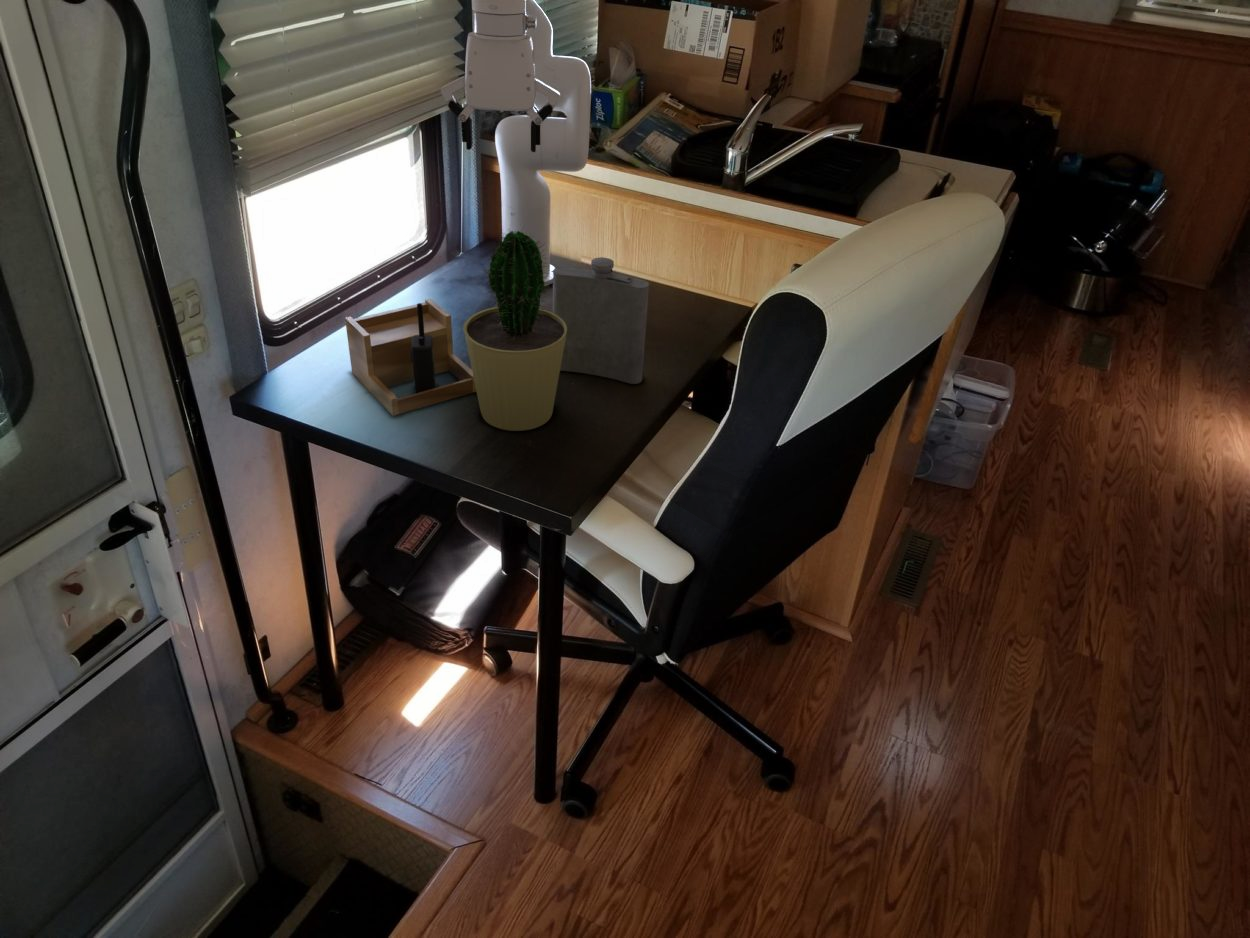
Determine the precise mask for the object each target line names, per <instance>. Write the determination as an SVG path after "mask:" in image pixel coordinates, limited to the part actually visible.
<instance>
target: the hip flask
mask: <svg viewBox="0 0 1250 938" xmlns="http://www.w3.org/2000/svg"><path fill="white" fill-rule="evenodd" d="M614 262H615V261H614V260H613V259H611V258H608V257H602V256H601V257H594V258H592V259H591V262H590V267H591V268H592V269H588V268H579V267H567V266H560V267H559V266H558V267H555V269H554V270H553V283H552V313H554V314H555V315H557V316H559V317H560V318H561V319H562V320H563V321H564V322H565V324H566V326H567V333H566V340H565V346H564V351H563V356H562V362H561V367H560V372H570V373H571V372H573V373H580V374H586V375H593V376H597V377H598V376H599V377H603V378H608V379H612V380H615V381H620V382H624V383H627V384H631V385H635V384H636V385H637V384H640V383H642V381H643V374H644V373H643V371H644V361H645V360H644V359H645V345H646V334H647V333H646V330H647V319H648V306H649V305H648V304H649V294H650V293H649V292H650V282H648V281H647V280H645V279H642V278H637V277H633V276H630V275H626V274H622V273H618V272H614V271H613V269H614V267H615V266H614V265H615V263H614Z"/></svg>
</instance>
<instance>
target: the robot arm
mask: <svg viewBox="0 0 1250 938" xmlns="http://www.w3.org/2000/svg"><path fill="white" fill-rule="evenodd" d="M471 19H472V31H471V32H468V34H467V39H466V47H465V62H464V63H465V68H464V70H465V71H464V75H463V76H461V77H458V78H456V79H455V80H453V81H450V82H449V83H446V84H445V85H443V86H442V87H441V88H440V94H441V95H442V97H443V99H444V101H445V103H446V105H447V107H448V109H449V110H450V112H452V113H453V114H454V115H455V116H456V117H457V118H458V120H459V121H460V124H461V127H460V130H461V142H462V143H465V144H466V145H465V146H466V150H468V151H469V150H472V148H473V143H474V141H473V119H472V117H471V115H472V114H473V113H474V112H475V110H482V111H506V112H525V113H526V115H523V114H517V115H510V116H506V117H504V118H503V119H501V120H500V121H499V122H498V124H497V125H496V128H495V133H494V142H495V150H496V155H497V161H498V167H499V177H500V195H501V197H500V198H501V200H500V201H501V238H502V237H505V235H506V234H508V233H510V232H512V231H513V232H514V234H515V232H516V233H517V231H519V232H520V233H521V230H522V229H523V230H522V232H523V234H524V235H527V236H529V237H530V238H531V236H532V238H531V239H532V240H534V242H538V241H539V242H538V244H539V245H538V244H536V245H537V247H538V249H539V250H540V251H539V252H540V253H541V255H542V256H544V257H542V256H541V260H542V266H547V267H542V270H543V275H544V276H543V280H544V283H545V282H546V283H552V284H553V270H554V269H555V268H556V267H555V266H554V265H552V264H551V191H550V187H549V185H548V183H547V181H546V180H545V178H544V177H543V176H542V174H541V173H540V172H539V171H541V172H542V171H545V172H546V171H548V172H562V173H563V172H567V173H575V172H580V171H582V170H583V169H584V168H585V167H586V165H587V162H588V158H589V150H590V129H591V105H592V103H591V101H592V78H591V72H590V69H589V66H588V63H586V61H584V60H583V59H581V58H579V57H575V56H567V55H566V56H565V55H554V54H553V38H554V37H553V36H554V30H553V28H554V27H553V26H552V23H551V21H550V20H549V18H548V16H547V15H546V13H545V12H544V10H543V9H542V7H540V5H539V4H538V3H537V2H536V1H535V0H471ZM463 88H464V92H465V94H464V95H465V102H466V103H465V105H464V106H462V105H461V104H460V103H459V102H458V101H457V100H456V98H455V95H454V93H456V92H458V91H459V90H462V89H463ZM553 112H561V113H563V114H564V116H566V117H551V116H550V115H551V114H552V113H553ZM523 227H524V228H523ZM507 229H508V230H507ZM509 229H510V230H509ZM503 230H504V231H503ZM508 231H509V232H508ZM502 232H503V233H502ZM504 233H505V234H504ZM525 233H526V234H525ZM527 233H528V234H527ZM530 233H531V234H530ZM502 234H503V236H502ZM503 239H504V238H503ZM501 240H502V239H501ZM501 242H503V240H502V241H501ZM541 242H542V243H541ZM543 245H544V246H543ZM541 246H542V247H541ZM539 247H540V248H539ZM545 249H546V250H545ZM542 251H543V252H542ZM543 258H547V259H543ZM544 262H546V263H544ZM544 272H545V273H544ZM546 278H547V279H546ZM549 285H550V284H544V287H545V286H549Z"/></svg>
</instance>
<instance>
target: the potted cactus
mask: <svg viewBox="0 0 1250 938" xmlns="http://www.w3.org/2000/svg"><path fill="white" fill-rule="evenodd" d="M523 228H524V227H523ZM507 230H508V229H507ZM509 230H510V229H509ZM522 230H523V229H522ZM522 230H521V233H520V232H519V231H517V233H516V232H515V234H514V232H513V231H512V232H510V233H508V234H506V235H505V237H502V236H503V234H502V233H503V232H502V231H501V235H500V234H498V235H497V236H496V238H497V239H498V240H496V241H498V242H497V243H496V245H497V247H496V248H495V249H494V251H491V253H492V254H491V257H490V258H489V256H486V259H487V260H488V261H489V268H486V269H484V271H483V273H482V275H484V279H485V280H486V279H487V280H488V283H487V284H486V285H485V287H486V288H488V290H489V292H487V293H486V294H487V295H488V294H489V293H491V294H490V297H493V300H494V299H495V300H494V302H493V304H491V306H492V307H490V308H489V307H488V308H485V309H483V310H480V311H478V312H475V313H474V314H472V315H470V316H469V317H468V318H467V319H466V320H465V321H464V323H463V326H462V330H463V334H464V336H465V343H466V347H467V352H468V357H469V361H470V368H471V370H472V372H473V377H474V382H475V386H476V391H477V392H476V395H477V396H476V397H477V401H478V406H479V410H480V414H481V416H482V418H483V420H484V421H485V422H486V423H487V424H488V425H490V426H492V427H494V428H497V429H500V430H504V431H513V432H520V431H521V432H522V431H528V430H529V431H530V430H533V429H537V428H539V427H541V426H543V425H544V424H546V423H548V421H550V420H551V418H552V416H553V413H554V406H555V401H556V400H555V399H556V395H557V390H558V385H559V379H560V378H559V377H560V374H561V373H560V372H561V371H560V367H561V362H562V356H563V351H564V346H565V340H566V333H567V326H566V324H565V322H564V321H563V320H562V319H561V318H560V317H559V316H557V315H555V314H554V313H553V311H552V312H551V311H549V310H547V309H544V308H545V306H544V305H542V307H543V308H541V303H542V302H545V300H543V299H542V295H546V294H547V293H545V292H547V291H549V290H551V287H550V286H549V285H553V283H546V282H545V283H544V280H543V276H544V275H543V270H542V267H547V266H542V260H541V256H542V255H541V253H540V252H539V251H540V250H539V249H538V247H537V245H536V244H538V242H539V241H538V242H534V240H532V239H531V238H532V236H531V238H530V237H529V236H527V235H524V234H523V232H522ZM503 231H504V230H503ZM508 232H509V231H508ZM504 234H505V233H504ZM525 234H526V233H525ZM527 234H528V233H527ZM530 234H531V233H530ZM503 238H504V239H503ZM502 240H503V242H502ZM541 243H542V242H541ZM538 245H539V244H538ZM543 246H544V245H543ZM541 247H542V246H541ZM539 248H540V247H539ZM545 250H546V249H545ZM542 252H543V251H542ZM542 257H544V256H542ZM543 259H547V258H543ZM544 263H546V262H544ZM484 273H485V274H486V275H485V274H484ZM544 273H545V272H544ZM546 279H547V278H546ZM544 284H549V285H547V286H544ZM485 287H484V288H485Z"/></svg>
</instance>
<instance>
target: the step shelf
mask: <svg viewBox="0 0 1250 938" xmlns="http://www.w3.org/2000/svg"><path fill="white" fill-rule="evenodd" d="M420 303H421V304H422V310H423V323H424V335H430V336H432V339H433V354H434V368H435V375H437V374H441V373H446V372H448V371H449V372H450V373H451V374H452V375H453V376H455V378H457V379H458V380H459V381H455V382H451V383H447V384H444V385H441V386H438V387H437V386H436V388H434V389H430V390H426V391H423V392H419V393H416V394H415V393H412V394H409V395H406V396H402V397H398V396H396V395H395V394H394V393H393V392H392V391H391V390H390V389H389V388H390V387H395V386H398V385H402V384H405V383H408V382H412V381H413V382H414V372H413V362H411V347H412V337H413V336H414V335H419V326H418V313H417V304H418V303H416V304H412V305H407V306H403V307H399V308H395V309H390V310H386V311H382V312H377V313H373V314H369V315H363V316H360V317H356V318H353V317H352V316H346V317H344V321H345V328H346V329H345V330H346V336H347V343H348V344H347V345H348V353H349V361H350V367H351V368H350V369H351V373H352V374H353V375H354V376H355V378H357V379H358V381H359V382H360V383H361V384H362V385H363V386H364V387H365V388H366V389H367V390H368V391H369V392H370V393H371V394H372V395H373V397H374V398H375V399H377V401H378V402H379V403H380V404H381V405H382V406H383V407H384V408H385V409H386V410H387V412H388V413H390V415H391V416H393V417H395V416H397V415H401V414H405V413H408V412H411V411H415V410H418V409H422V408H425V407H428V406H431V405H432V406H433V405H435V404H439V403H443V402H446V401H449V400H452V399H456V398H459V397H462V396H466V395H470V394H473V393H477V391H476V386H475V382H474V377H473V372H472V368H471V367H469V366H468V364H466V363H465V362H464V361H462V360H461V359H460V358H459V357H458V356H457V355H456V354H454V345H453V344H454V343H453V327H452V326H453V325H452V315H451V314H450V313H449V312H448V311H446V310H445V309H444V308H443V307H442V306H440V305H439V304H438V303H436V302H435V300H433V299H432V298H426V299H425V300H424V302H420Z"/></svg>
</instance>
